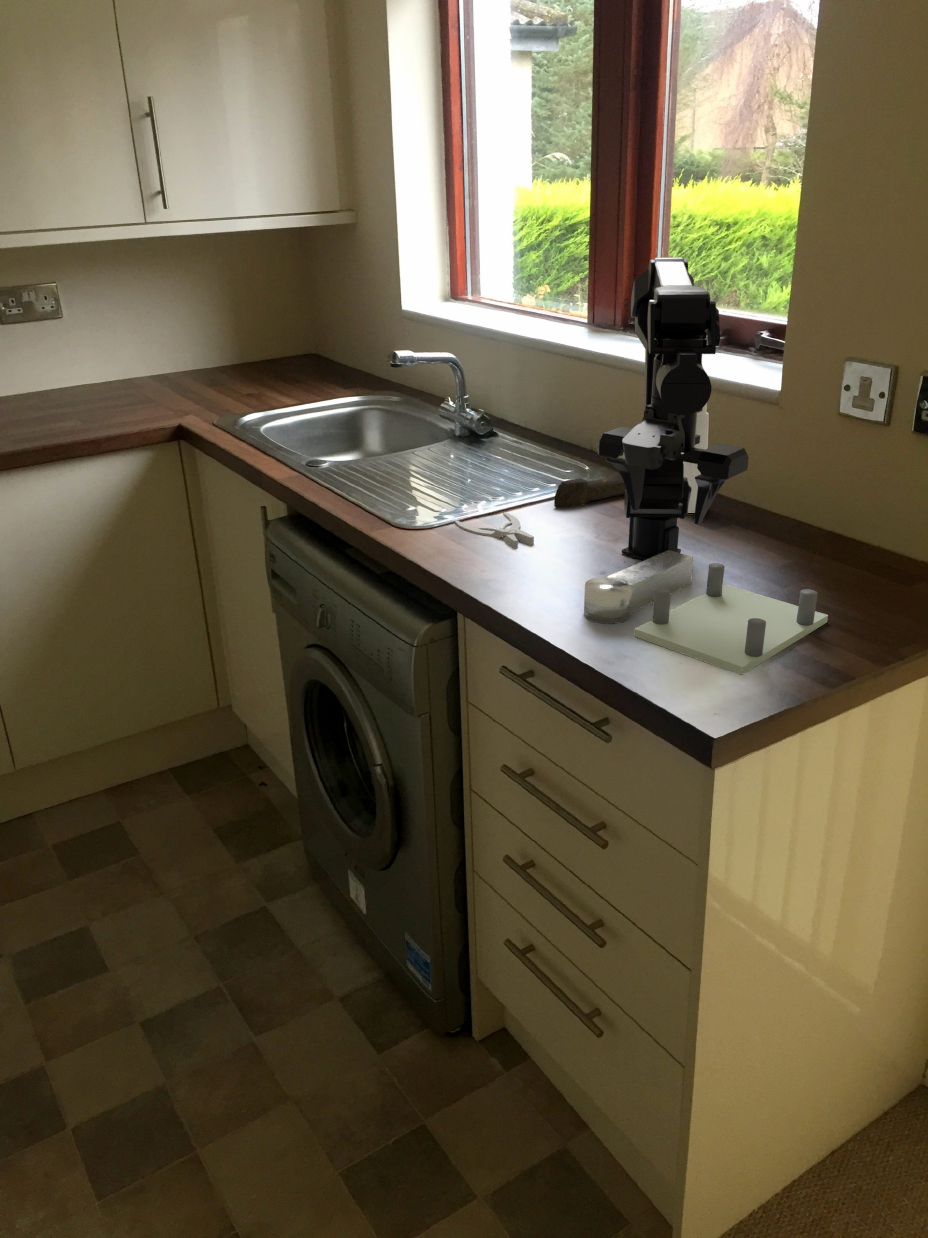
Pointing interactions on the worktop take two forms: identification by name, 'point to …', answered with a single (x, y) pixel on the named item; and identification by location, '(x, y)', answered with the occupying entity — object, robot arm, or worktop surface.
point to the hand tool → (587, 491)
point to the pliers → (502, 531)
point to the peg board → (730, 624)
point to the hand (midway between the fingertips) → (666, 516)
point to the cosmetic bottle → (691, 468)
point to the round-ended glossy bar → (635, 587)
